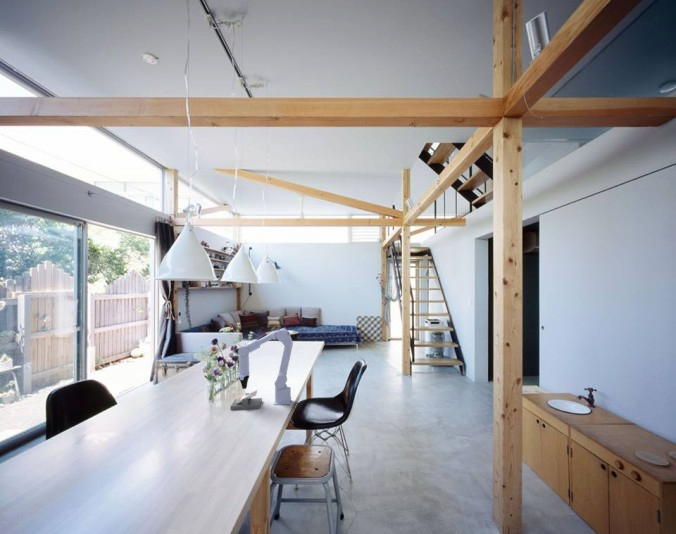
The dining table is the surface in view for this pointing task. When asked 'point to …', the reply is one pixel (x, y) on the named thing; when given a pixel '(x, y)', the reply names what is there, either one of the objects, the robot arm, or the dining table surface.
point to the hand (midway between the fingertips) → (244, 388)
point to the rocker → (246, 396)
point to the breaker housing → (246, 404)
